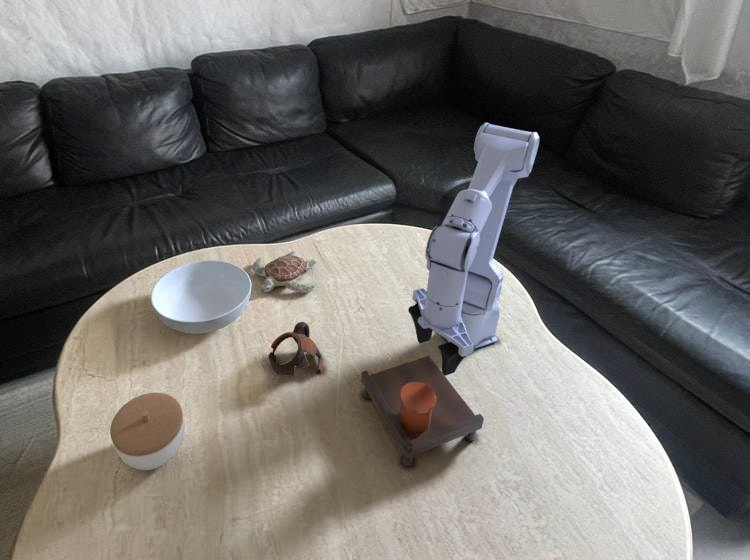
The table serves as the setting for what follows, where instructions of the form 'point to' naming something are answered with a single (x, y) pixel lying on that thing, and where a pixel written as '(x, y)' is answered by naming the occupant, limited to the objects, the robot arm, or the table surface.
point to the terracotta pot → (416, 406)
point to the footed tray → (447, 413)
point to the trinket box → (148, 430)
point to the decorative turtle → (285, 273)
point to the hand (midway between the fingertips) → (435, 356)
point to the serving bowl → (201, 296)
